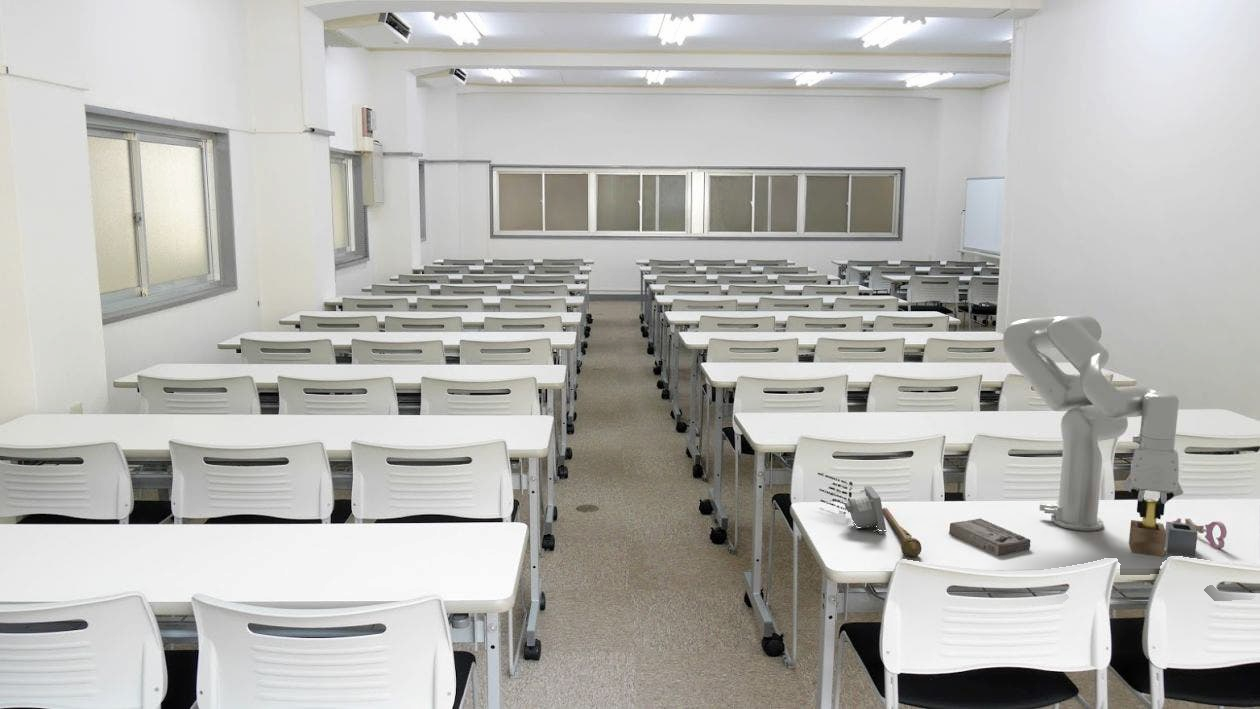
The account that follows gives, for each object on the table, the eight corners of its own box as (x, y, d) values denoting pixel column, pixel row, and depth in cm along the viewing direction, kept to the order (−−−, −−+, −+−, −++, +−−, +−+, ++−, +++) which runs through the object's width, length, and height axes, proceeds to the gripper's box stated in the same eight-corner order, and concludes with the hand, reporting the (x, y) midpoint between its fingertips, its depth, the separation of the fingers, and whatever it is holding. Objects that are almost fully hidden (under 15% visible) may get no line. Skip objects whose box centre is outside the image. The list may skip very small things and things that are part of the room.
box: (979, 528, 255) (979, 517, 254) (1031, 551, 240) (1032, 539, 239) (947, 534, 251) (948, 522, 250) (998, 557, 235) (999, 545, 235)
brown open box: (1131, 552, 238) (1133, 528, 237) (1128, 542, 244) (1131, 519, 243) (1163, 556, 235) (1166, 532, 234) (1160, 546, 242) (1162, 523, 241)
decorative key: (1174, 534, 258) (1226, 550, 239) (1170, 535, 258) (1222, 550, 239) (1174, 509, 258) (1226, 523, 239) (1170, 510, 258) (1222, 523, 239)
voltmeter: (900, 530, 253) (902, 493, 251) (870, 539, 246) (872, 501, 244) (824, 503, 274) (825, 469, 272) (795, 510, 267) (796, 476, 266)
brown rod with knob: (875, 517, 267) (892, 519, 267) (903, 560, 232) (923, 562, 232) (877, 501, 266) (894, 502, 266) (905, 541, 232) (925, 543, 231)
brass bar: (1140, 549, 239) (1145, 501, 237) (1139, 545, 242) (1143, 498, 240) (1154, 550, 238) (1158, 503, 236) (1152, 546, 240) (1157, 499, 238)
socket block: (1166, 552, 238) (1169, 529, 237) (1163, 544, 243) (1166, 521, 242) (1195, 556, 236) (1197, 532, 235) (1191, 547, 241) (1193, 524, 240)
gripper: (1120, 443, 235) (1113, 517, 238) (1197, 450, 229) (1190, 525, 232) (1117, 436, 242) (1111, 507, 245) (1193, 443, 236) (1185, 516, 239)
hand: (1149, 515), depth 238 cm, fingers closed on brass bar, 3 cm apart
